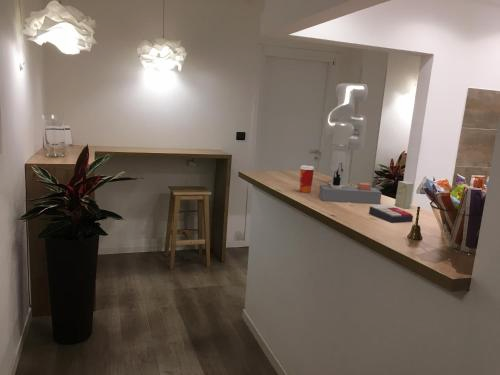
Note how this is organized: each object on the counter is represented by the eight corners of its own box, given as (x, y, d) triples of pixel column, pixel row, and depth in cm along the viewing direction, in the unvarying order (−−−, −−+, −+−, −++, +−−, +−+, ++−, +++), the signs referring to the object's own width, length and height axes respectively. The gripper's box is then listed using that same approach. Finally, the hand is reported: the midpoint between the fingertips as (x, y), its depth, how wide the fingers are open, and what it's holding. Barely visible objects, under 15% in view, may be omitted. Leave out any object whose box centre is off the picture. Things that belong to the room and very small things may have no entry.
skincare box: (394, 205, 203) (397, 181, 200) (401, 205, 204) (404, 180, 202) (403, 208, 197) (406, 183, 195) (410, 208, 199) (414, 183, 196)
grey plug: (329, 197, 211) (330, 184, 210) (338, 198, 212) (340, 184, 210) (330, 199, 207) (332, 185, 205) (340, 200, 207) (342, 186, 205)
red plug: (356, 196, 211) (358, 182, 210) (366, 196, 211) (368, 183, 210) (359, 198, 206) (360, 184, 205) (369, 198, 207) (370, 184, 205)
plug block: (319, 196, 215) (320, 184, 214) (372, 199, 215) (374, 187, 214) (323, 201, 203) (324, 189, 202) (380, 204, 203) (381, 192, 202)
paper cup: (301, 190, 229) (303, 164, 226) (314, 192, 225) (316, 166, 223) (295, 192, 222) (297, 166, 220) (308, 194, 218) (311, 167, 216)
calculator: (392, 215, 168) (369, 204, 182) (391, 225, 169) (368, 214, 183) (414, 214, 172) (389, 204, 186) (412, 223, 173) (388, 213, 187)
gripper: (329, 146, 212) (326, 182, 215) (335, 149, 197) (331, 187, 200) (344, 147, 212) (340, 182, 215) (351, 150, 197) (347, 188, 201)
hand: (336, 184), depth 208 cm, fingers closed
